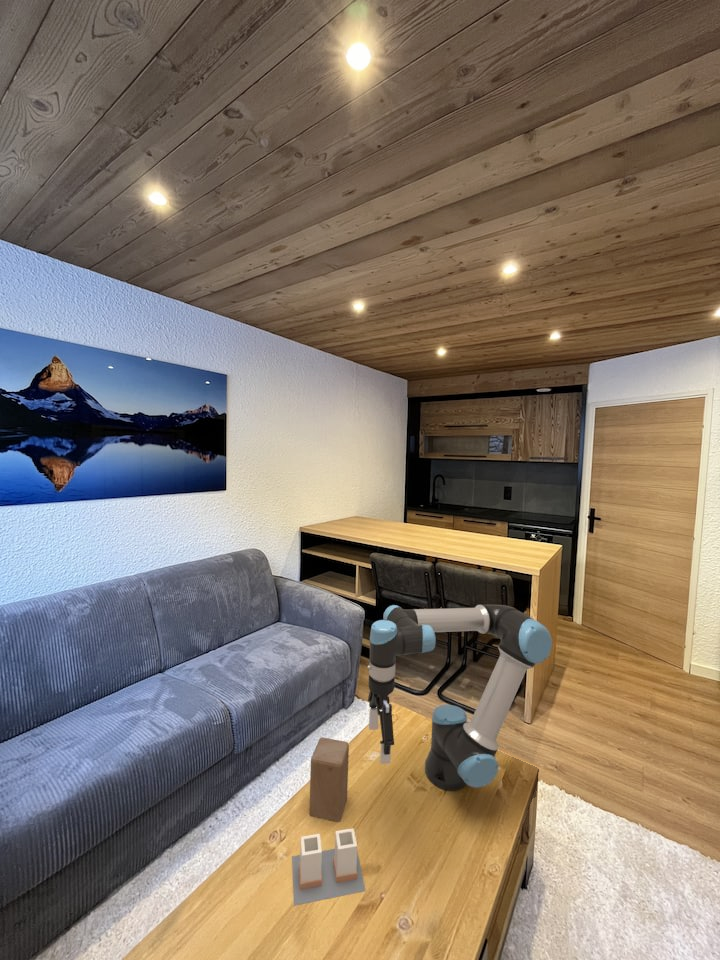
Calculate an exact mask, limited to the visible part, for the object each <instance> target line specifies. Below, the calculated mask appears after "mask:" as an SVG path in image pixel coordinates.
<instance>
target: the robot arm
mask: <svg viewBox="0 0 720 960" xmlns="http://www.w3.org/2000/svg"><path fill="white" fill-rule="evenodd" d="M470 631H471V632H478V633H480V634H483V635H486V634H488V635H492V636H494V637H496V638H498V639H500V641H499V644H498V646H497V648H498V650H499V657H498V659H497V661H496V664H495V666H494V667H493V671H492V673H491V675H490V677H489V680H488V681H487V683H486V687H485V688H484V690H483V693H482V695H481V696H480V700H479V702H478V704H477V706H476V708H475V710H474V713H473V716H472V718H471V719H470V721H469V722H467V721H468V715H467V712H466V711H465V710H464V709H463V708H462V707H460V706H457V705H454V704H453V705H452V704H442V705H439V706H437V707H435V708H434V710H433V711H432V718H431V738H430V739H431V743H430V744H431V745H430V748H429V749H430V750H429V752H428V754H427V757H426V759H425V763H424V771H425V775H426V777H427V778H428V780H429V781H430V782H431V783H432V784H433V785H435V786H436V787H438V788H440V789H442V790H445V791H453V792H454V791H458V790H462V789H464V787H466V786H469V787H471V788H477V789H478V788H483V787H485V786H487V785H489V784H490V783H491V782H493V781H494V779H495V778H496V776H497V774H498V772H499V765H498V764H499V763H498V760H497V759H496V754H497V752H498V749H499V745H498V742H497V738H498V735H499V733H500V732H501V729H502V728H503V727H502V726H503V724H504V721H505V719H506V717H507V716H508V712H509V711H510V709H511V706H512V703H513V701H514V699H515V696H516V694H517V692H518V691H519V688H520V685H521V683H522V681H523V679H524V677H525V674H526V672H527V671H528V670H530V669H533V668H534V667H535V666H536V664H540V663H543V662H544V660H547V659H548V657H549V655H550V654H551V651H552V646H553V642H552V636H551V634H550V631H549V629H548V628H547V627H546V626H544V625H543V624H542V623H540V622H539V621H538V620H536V619H535V618H532V617H531V616H528V615H527V614H525V613H524V612H522V611H520V610H519V609H517V608H515V607H512V606H510V605H504V604H477V605H476V606H475V607H457V608H453V607H452V608H419V609H417V608H413V609H412V608H411V609H410V608H409V609H404V608H402V607H401V606H399V605H397V604H396V605H395V604H392V605H389V606H388V607H387V608H386V609H385V611H384V612H383V619H379V620H376V621H374V622H373V623H372V624H371V628H370V634H369V635H370V636H369V665H367V669H368V671H369V672H368V673H369V674H368V690H369V694H368V696H367V701H368V703H369V704H368V706H369V716H368V717H369V719H368V730H369V731H373V730H378V729H379V722H380V731H381V740H380V741H379V744H380V757H379V758H380V759H379V760H380V761H379V763H380V765H385V764H390V763H391V757H392V755H391V753H392V746H394V745H395V738H394V728H393V727H394V726H393V725H394V723H393V714H392V713H393V711H392V710H393V709H392V708H393V706H392V704H391V703H390V697H389V695H390V694H392V693H393V692H394V690H395V676H396V657H397V656H404V655H413V654H423V653H428V652H432V651H433V650H434V649H435V647H436V642H437V640H436V639H437V638H436V634H435V633H447V632H449V633H451V632H453V633H454V632H470Z"/></svg>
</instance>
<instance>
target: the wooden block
mask: <svg viewBox="0 0 720 960" xmlns="http://www.w3.org/2000/svg"><path fill="white" fill-rule="evenodd" d="M349 751H350V745H349V742H347V741H344V740H338V739H332V738H327V737H319V739H318V741H317V744H316V746H315V749H314V750H313V753H312V755H311V756H310V757H311V758H310V773H309V774H310V777H309V816H310V817H312V818H317V819H321V820H325V821H330V822H334V823H340V822H341V821H342V818H343V814H344V810H345V806H346V803H347V800H348V785H349V783H348V781H349V755H350V754H349Z"/></svg>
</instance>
